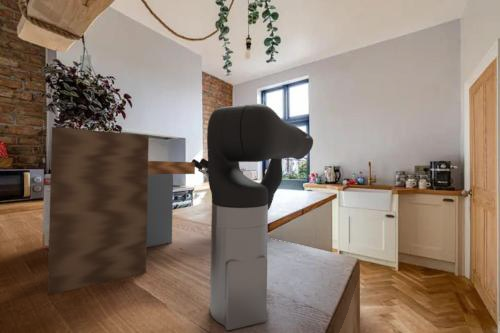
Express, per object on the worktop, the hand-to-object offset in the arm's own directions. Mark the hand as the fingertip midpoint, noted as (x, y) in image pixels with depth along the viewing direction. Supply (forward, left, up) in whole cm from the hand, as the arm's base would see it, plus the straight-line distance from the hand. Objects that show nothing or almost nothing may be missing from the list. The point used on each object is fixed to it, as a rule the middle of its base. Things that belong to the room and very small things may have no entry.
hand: (196, 161), depth 78 cm
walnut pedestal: (-24, +22, -26) cm, 41 cm away
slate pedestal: (-5, +17, -26) cm, 31 cm away
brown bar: (-3, +13, -5) cm, 14 cm away
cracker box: (-2, +34, -26) cm, 43 cm away
